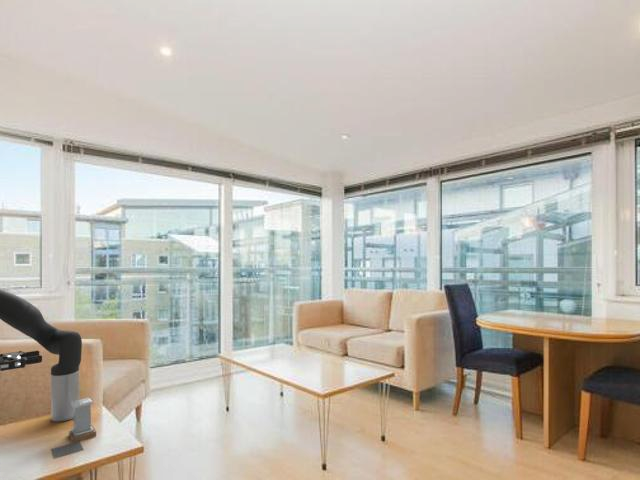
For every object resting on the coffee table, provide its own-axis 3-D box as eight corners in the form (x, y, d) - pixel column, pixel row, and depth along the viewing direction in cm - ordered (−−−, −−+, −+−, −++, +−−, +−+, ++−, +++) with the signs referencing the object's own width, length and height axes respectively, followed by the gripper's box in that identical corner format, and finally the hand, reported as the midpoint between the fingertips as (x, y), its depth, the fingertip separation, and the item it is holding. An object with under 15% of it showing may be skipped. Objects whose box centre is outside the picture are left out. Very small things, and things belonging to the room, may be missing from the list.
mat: (50, 452, 128) (50, 449, 128) (79, 444, 133) (79, 441, 133) (53, 462, 122) (53, 458, 122) (84, 453, 127) (84, 449, 127)
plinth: (68, 438, 138) (68, 430, 138) (92, 432, 142) (92, 424, 142) (72, 445, 132) (72, 437, 132) (96, 438, 137) (96, 431, 137)
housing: (71, 431, 137) (71, 401, 138) (89, 426, 141) (89, 397, 141) (74, 436, 133) (73, 406, 133) (93, 431, 137) (92, 401, 137)
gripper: (-26, 358, 115) (43, 348, 125) (-25, 349, 126) (38, 341, 136) (-26, 384, 115) (43, 372, 125) (-25, 373, 125) (38, 363, 136)
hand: (40, 356), depth 130 cm, fingers open, 8 cm apart
